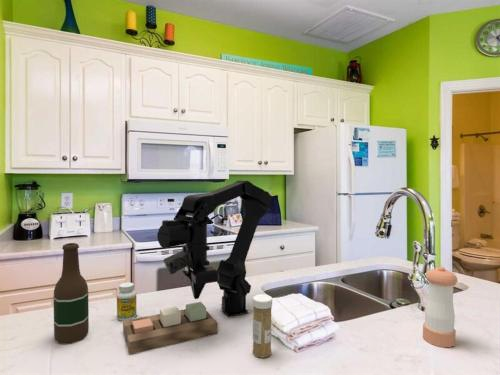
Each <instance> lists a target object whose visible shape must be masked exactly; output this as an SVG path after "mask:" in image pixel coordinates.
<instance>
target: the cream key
mask: <svg viewBox="0 0 500 375" xmlns="http://www.w3.org/2000/svg"><path fill="white" fill-rule="evenodd" d="M179 310H180V309H179V308H178V307H177V305H176V306H174V305H173V306H169V307H164V308H163V307H162V308H159V314H160V321H161V323H162V325H163V327H167V326H172V325H177V324H181V312H180V311H179Z"/></svg>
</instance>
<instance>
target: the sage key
mask: <svg viewBox="0 0 500 375" xmlns="http://www.w3.org/2000/svg"><path fill="white" fill-rule="evenodd" d="M185 309H186V316H187V318H188V319H189V320H190V322H191V321H196V320H201V319H206V311H207V307H206V305H204V303H203V302H202V301H198V302H192V303H191V302H190V303H186V304H185Z"/></svg>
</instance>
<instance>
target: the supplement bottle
mask: <svg viewBox="0 0 500 375" xmlns="http://www.w3.org/2000/svg"><path fill="white" fill-rule="evenodd" d="M134 288H135V284H134V283H133V282H123V283H120V284H119V286H118V290H119V291H118V292H117V294H116V318H117V320H119V321H122V322H123V321H125V320H130V319H136V318H137V312H138V311H137V292H136V290H135V289H134Z"/></svg>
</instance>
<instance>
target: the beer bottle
mask: <svg viewBox="0 0 500 375" xmlns="http://www.w3.org/2000/svg"><path fill="white" fill-rule="evenodd" d="M79 248H80V246H79V244H78V243H76V242H69V243H65V244H63V245H62V249H61V250H63V251H62V252H63V255H62V267H61V268H62V271H61V276H60V278H59V279H58V280H57V282H56V283H55V286H54V290H53V335H54V340H55V341H56V342H57V343H58V344H59V345H67V344H71V345H72V344H74V343H77V342H80V341H82V340H84V339H85V337H87V335H88V334H89V329H90V327H89V324H90V322H89V320H90V319H89V315H90V314H89V286H88V284H87V281H86V279H85V277H83V276H82V274H81V270H80V261H79V260H80V258H79Z"/></svg>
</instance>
